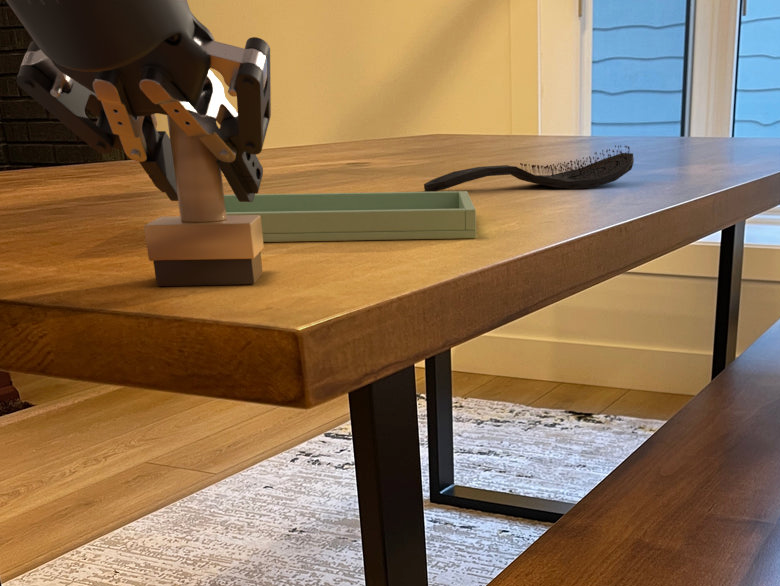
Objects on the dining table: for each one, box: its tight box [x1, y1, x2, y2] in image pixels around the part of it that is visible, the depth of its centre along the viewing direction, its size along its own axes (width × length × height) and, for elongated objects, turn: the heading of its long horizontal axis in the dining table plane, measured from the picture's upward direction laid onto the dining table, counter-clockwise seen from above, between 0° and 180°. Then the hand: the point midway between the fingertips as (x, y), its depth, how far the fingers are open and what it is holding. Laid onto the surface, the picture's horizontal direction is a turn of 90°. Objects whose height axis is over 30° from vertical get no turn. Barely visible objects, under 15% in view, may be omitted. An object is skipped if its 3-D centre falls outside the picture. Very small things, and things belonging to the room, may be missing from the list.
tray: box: [224, 190, 477, 243], centre depth 80 cm, size 22×14×2 cm, turn 95°
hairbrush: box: [423, 144, 635, 192], centre depth 110 cm, size 8×4×25 cm
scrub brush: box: [143, 115, 265, 287], centre depth 58 cm, size 6×4×10 cm, turn 95°
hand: (215, 189), depth 60 cm, fingers open, 3 cm apart
